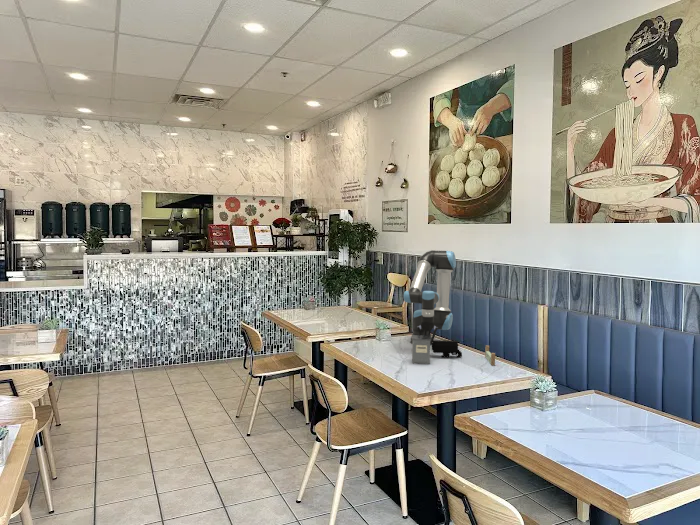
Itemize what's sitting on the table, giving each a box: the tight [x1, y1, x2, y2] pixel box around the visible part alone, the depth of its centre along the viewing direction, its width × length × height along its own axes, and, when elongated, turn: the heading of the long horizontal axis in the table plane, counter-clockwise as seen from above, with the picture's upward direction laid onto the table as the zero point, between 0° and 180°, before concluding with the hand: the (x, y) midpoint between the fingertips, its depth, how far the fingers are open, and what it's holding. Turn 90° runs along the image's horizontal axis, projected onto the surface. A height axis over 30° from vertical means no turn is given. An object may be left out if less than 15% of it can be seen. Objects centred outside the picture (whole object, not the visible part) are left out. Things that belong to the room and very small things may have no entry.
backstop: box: [484, 345, 496, 367], centre depth 317 cm, size 21×2×7 cm, turn 175°
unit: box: [411, 334, 431, 365], centre depth 314 cm, size 11×11×15 cm
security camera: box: [431, 339, 463, 359], centre depth 325 cm, size 7×18×10 cm, turn 89°
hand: (426, 353), depth 326 cm, fingers closed
